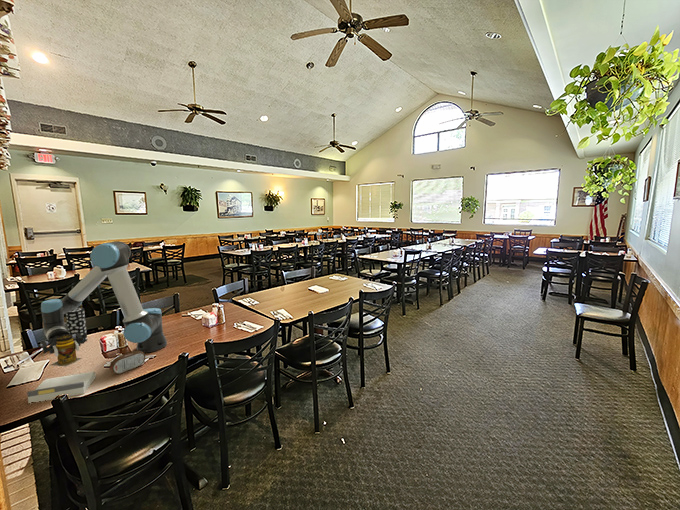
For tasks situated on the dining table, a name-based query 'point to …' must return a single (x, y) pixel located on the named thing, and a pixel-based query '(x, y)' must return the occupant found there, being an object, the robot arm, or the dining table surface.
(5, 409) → the dining table surface
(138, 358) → the brown grey oval slab
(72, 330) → the spotted tube
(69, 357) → the condiment
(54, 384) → the grey striped flat slab
